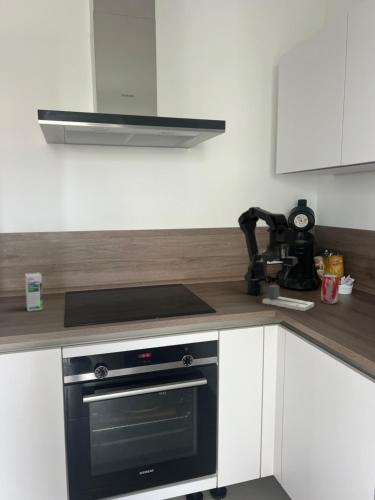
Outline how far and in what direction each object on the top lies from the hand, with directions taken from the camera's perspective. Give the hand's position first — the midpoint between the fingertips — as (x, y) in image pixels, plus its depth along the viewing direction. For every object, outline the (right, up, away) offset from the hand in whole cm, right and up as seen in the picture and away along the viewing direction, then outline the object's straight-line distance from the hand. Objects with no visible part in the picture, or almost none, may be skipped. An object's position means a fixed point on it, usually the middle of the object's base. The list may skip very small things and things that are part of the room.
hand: (274, 278), depth 169 cm
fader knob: (0, -8, +1) cm, 8 cm away
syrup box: (-100, -12, -13) cm, 101 cm away
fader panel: (+5, -11, -3) cm, 13 cm away
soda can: (+25, -11, +1) cm, 27 cm away
